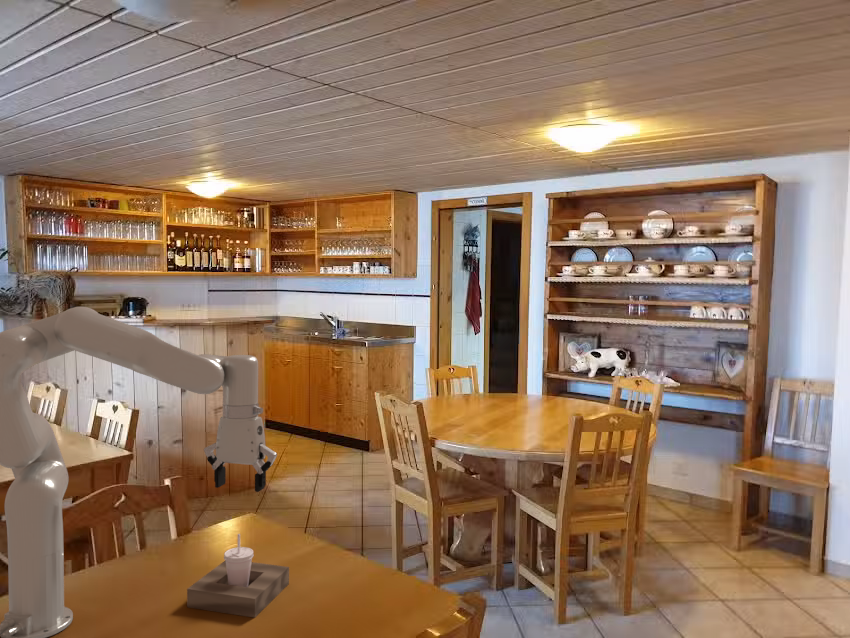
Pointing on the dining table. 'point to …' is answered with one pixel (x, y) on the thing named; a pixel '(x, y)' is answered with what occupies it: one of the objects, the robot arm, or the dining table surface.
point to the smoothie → (238, 565)
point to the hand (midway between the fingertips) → (239, 488)
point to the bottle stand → (238, 590)
